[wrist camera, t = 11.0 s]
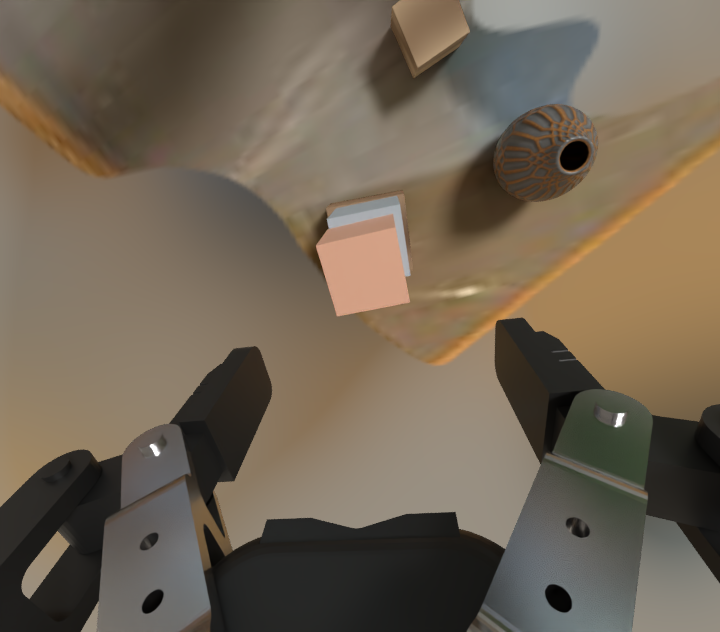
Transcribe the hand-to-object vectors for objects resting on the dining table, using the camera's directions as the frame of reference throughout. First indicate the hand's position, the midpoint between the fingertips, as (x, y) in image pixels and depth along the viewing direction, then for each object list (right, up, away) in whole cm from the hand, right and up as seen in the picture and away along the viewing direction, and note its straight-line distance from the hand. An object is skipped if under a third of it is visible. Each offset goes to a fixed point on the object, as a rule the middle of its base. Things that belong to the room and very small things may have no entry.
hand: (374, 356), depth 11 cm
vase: (+14, +16, +19) cm, 28 cm away
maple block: (+5, +24, +15) cm, 29 cm away
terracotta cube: (0, +6, +14) cm, 16 cm away
